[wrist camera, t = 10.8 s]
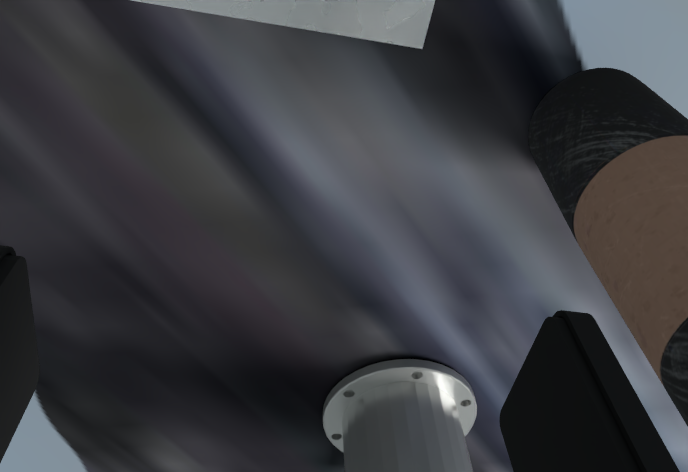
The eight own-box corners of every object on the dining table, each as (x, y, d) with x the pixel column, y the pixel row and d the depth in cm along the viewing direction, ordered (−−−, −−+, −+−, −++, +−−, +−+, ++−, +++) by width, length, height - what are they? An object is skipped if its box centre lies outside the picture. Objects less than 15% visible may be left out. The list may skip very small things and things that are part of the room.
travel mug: (532, 195, 39) (689, 484, 23) (512, 88, 35) (689, 355, 19) (656, 157, 38) (910, 436, 22) (651, 42, 34) (965, 286, 18)
